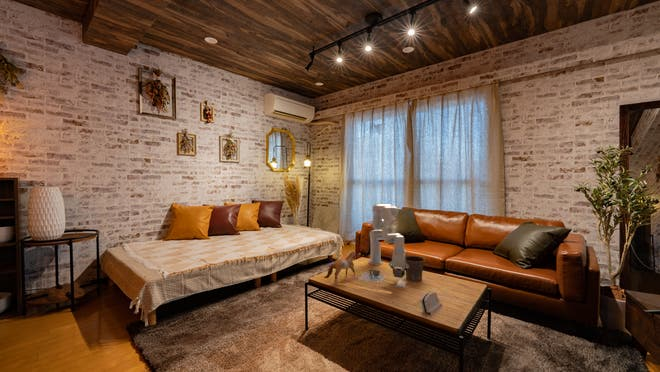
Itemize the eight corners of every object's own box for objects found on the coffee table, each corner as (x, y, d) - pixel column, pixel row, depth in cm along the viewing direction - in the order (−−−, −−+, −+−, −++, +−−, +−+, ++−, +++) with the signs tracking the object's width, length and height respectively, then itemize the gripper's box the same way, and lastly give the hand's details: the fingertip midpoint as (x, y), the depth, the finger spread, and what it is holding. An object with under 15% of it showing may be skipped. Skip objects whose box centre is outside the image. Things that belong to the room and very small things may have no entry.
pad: (392, 280, 214) (392, 279, 214) (407, 282, 209) (407, 281, 209) (389, 285, 204) (389, 284, 204) (404, 287, 199) (404, 286, 199)
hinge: (431, 315, 160) (425, 297, 162) (423, 315, 163) (418, 298, 165) (442, 305, 172) (437, 289, 174) (435, 305, 175) (430, 289, 177)
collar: (395, 274, 210) (395, 267, 210) (403, 275, 208) (403, 268, 207) (393, 276, 205) (394, 270, 204) (402, 277, 202) (402, 271, 202)
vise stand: (364, 273, 228) (364, 266, 228) (385, 276, 221) (385, 269, 220) (357, 281, 212) (357, 273, 212) (380, 285, 204) (380, 277, 204)
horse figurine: (354, 275, 224) (354, 250, 223) (360, 278, 217) (360, 253, 217) (323, 284, 205) (323, 257, 205) (329, 287, 199) (329, 260, 198)
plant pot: (404, 281, 211) (404, 261, 210) (402, 274, 227) (402, 255, 226) (426, 283, 208) (426, 262, 207) (422, 275, 224) (422, 256, 223)
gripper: (411, 251, 205) (411, 275, 206) (388, 249, 213) (388, 272, 213) (409, 254, 199) (409, 278, 199) (386, 251, 206) (386, 275, 206)
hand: (398, 275), depth 206 cm, fingers closed on collar, 6 cm apart
